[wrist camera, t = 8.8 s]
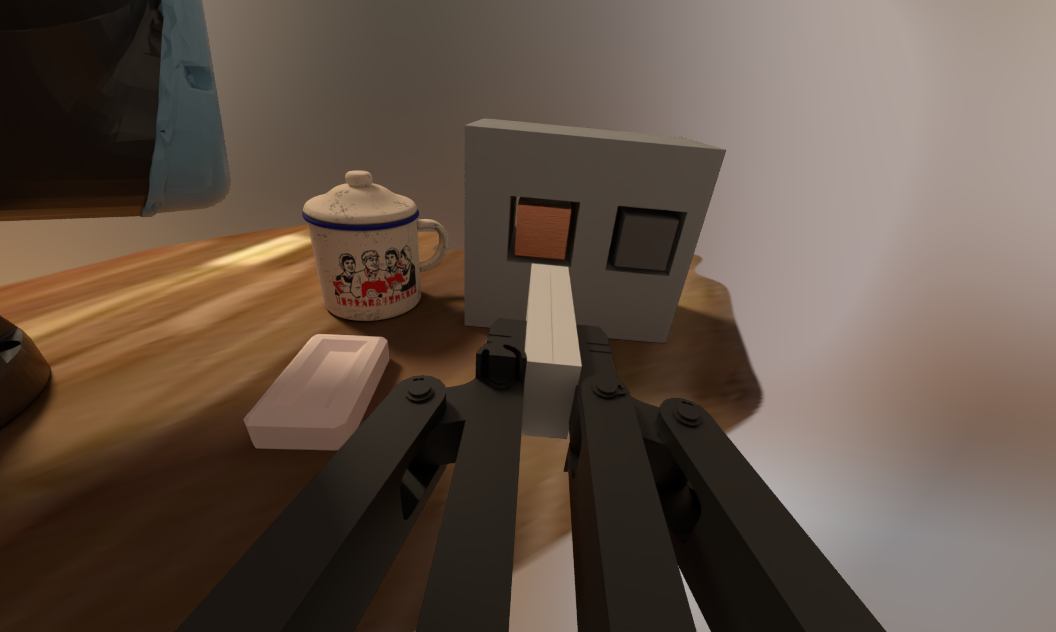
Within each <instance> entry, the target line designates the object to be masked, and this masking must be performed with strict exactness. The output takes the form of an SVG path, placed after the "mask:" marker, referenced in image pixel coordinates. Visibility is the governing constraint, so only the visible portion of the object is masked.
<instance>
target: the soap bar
mask: <svg viewBox="0 0 1056 632" xmlns="http://www.w3.org/2000/svg"><path fill="white" fill-rule="evenodd" d="M389 360H390V358H389V350H388V342H387V340H386V339H385V338H383V337H372V336H350V335H329V334H316V335H315V336H313V337H311V339H310V340H309V341H308V342H307V343H306V345H305V346H304V347H303V348H302V349H301V351H300V352H299V353H298V354H297V355H296V357H295V358H294V359H293V360H292V361H291V363H290V364H289V365H288V366H287V367H286V369H285V370H284V371H283V372H282V373H281V375H280V376H279V377H278V378H277V379H276V381H275V382H274V383H273V384H272V385H271V387H270V388H269V389H268V390H267V391H266V393H265V394H264V395H263V396H262V397H261V399H260V400H259V401H258V402H257V403H256V405H255V406H254V407H253V408H252V409H251V411H250V412H249V413H248V414H247V415H246V417H245V418H244V419H243V420H244V423H245V425H246V428H247V431H248V433H249V436H250V438H251V441H252V443H253V445H254V446H255V448H261V449H301V450H339V449H340V448H341V446H342V445H343V444H344V443H345V442H346V441H347V440H348V439H349V438H350V436H351V435H352V434H353V433H354V432H355V431H356V430H357V429H358V427H359V424H360V422H361V420H362V418H363V416H364V414H365V412H366V409H367V407H368V405H369V403H370V401H371V399H372V396H373V394H374V392H375V390H376V388H377V386H378V384H379V381H380V379H381V377H382V375H383V373H384V371H385V368H386V366H387V364H388V362H389Z"/></svg>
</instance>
